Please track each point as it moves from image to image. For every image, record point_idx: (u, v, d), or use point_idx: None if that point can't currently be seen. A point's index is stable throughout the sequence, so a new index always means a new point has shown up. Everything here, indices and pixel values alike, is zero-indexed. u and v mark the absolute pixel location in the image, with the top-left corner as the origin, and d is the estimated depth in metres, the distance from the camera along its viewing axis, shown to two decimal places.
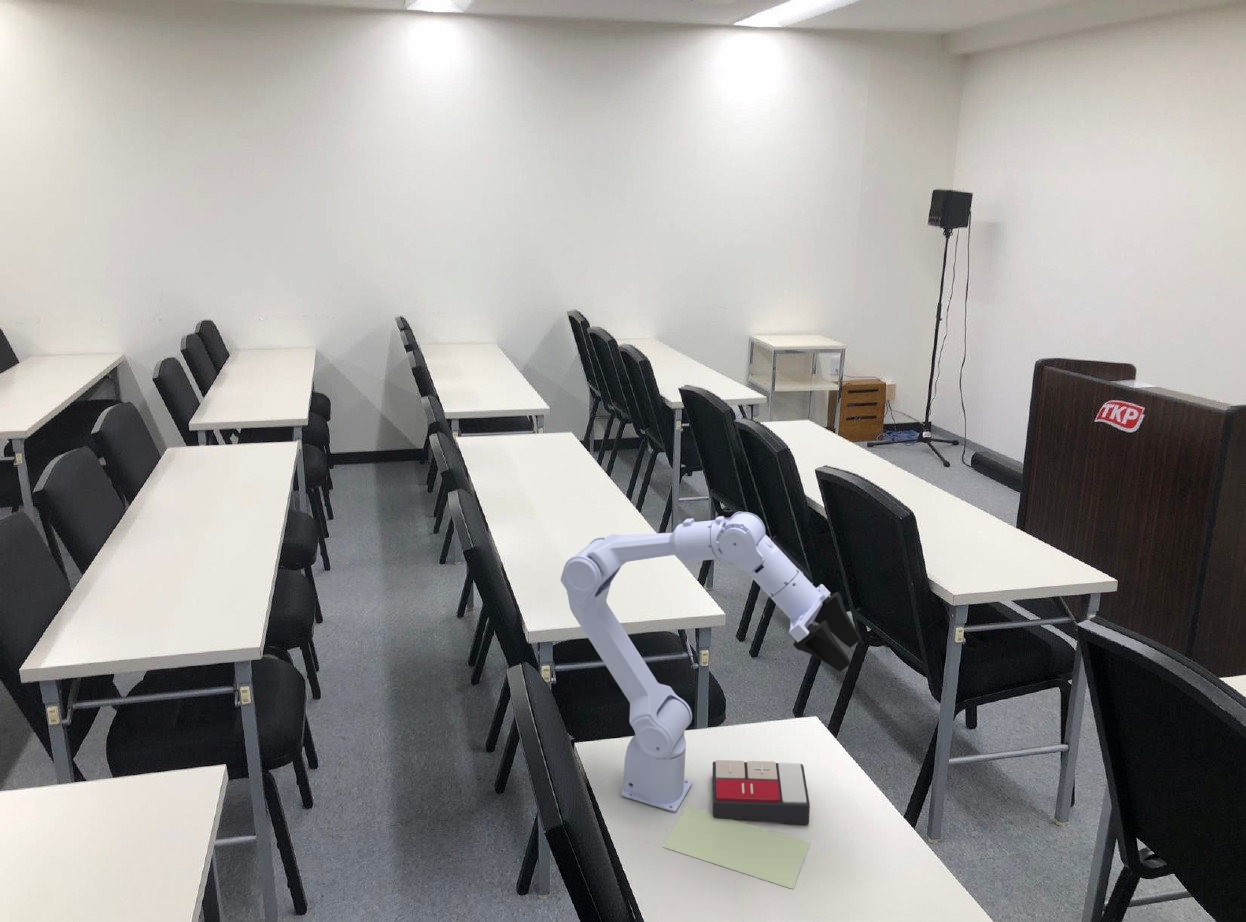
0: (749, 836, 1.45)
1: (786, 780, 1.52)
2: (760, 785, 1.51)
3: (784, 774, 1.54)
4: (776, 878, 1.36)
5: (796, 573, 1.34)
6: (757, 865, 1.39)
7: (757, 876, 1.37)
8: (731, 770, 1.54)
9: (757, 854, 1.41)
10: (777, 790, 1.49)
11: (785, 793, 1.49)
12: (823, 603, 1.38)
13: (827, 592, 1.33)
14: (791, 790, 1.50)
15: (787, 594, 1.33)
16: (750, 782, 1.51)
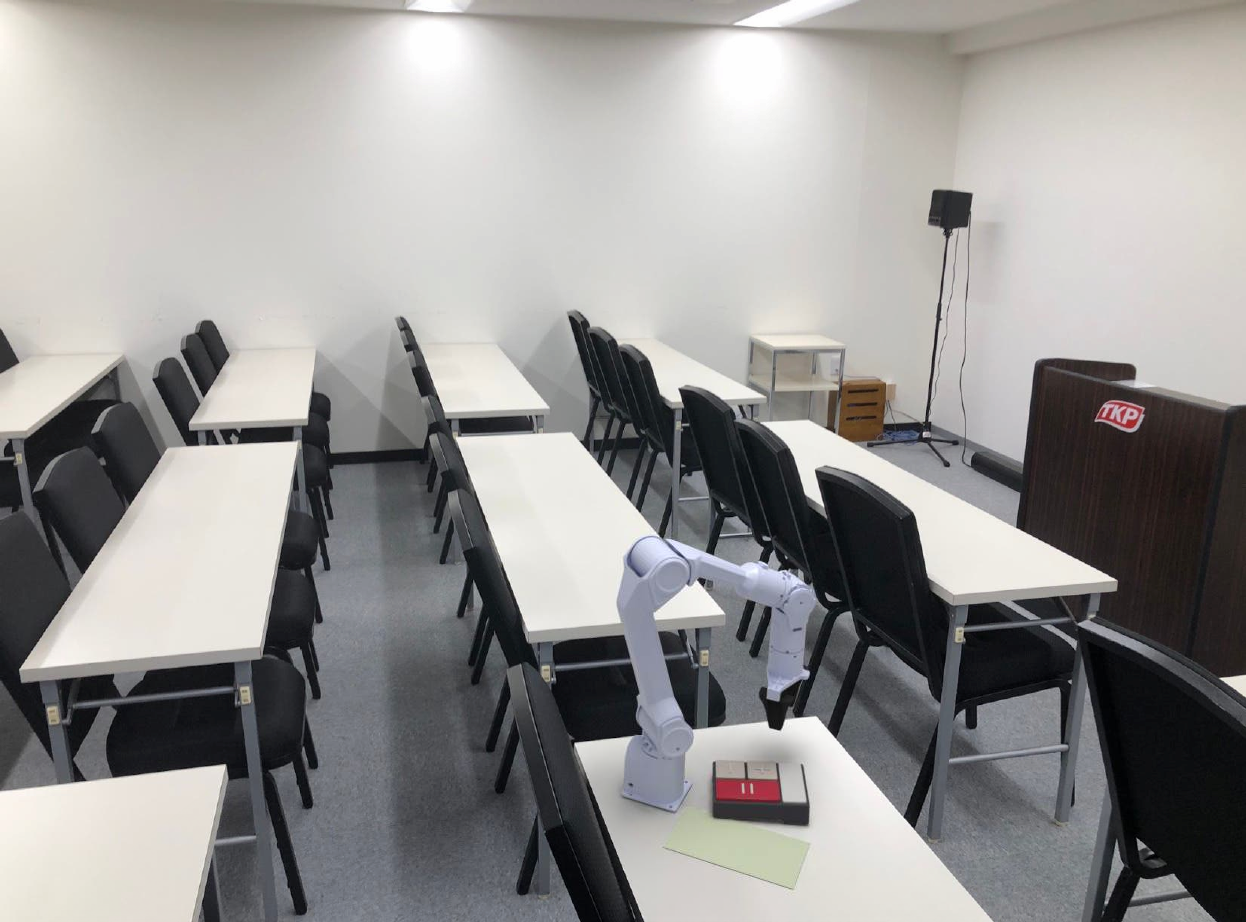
0: (749, 836, 1.45)
1: (786, 780, 1.52)
2: (760, 785, 1.51)
3: (784, 774, 1.54)
4: (776, 878, 1.36)
5: (802, 649, 1.54)
6: (757, 865, 1.39)
7: (757, 876, 1.37)
8: (731, 770, 1.54)
9: (757, 854, 1.41)
10: (777, 790, 1.49)
11: (785, 793, 1.49)
12: None
13: (808, 675, 1.55)
14: (791, 790, 1.50)
15: (785, 658, 1.53)
16: (750, 782, 1.51)
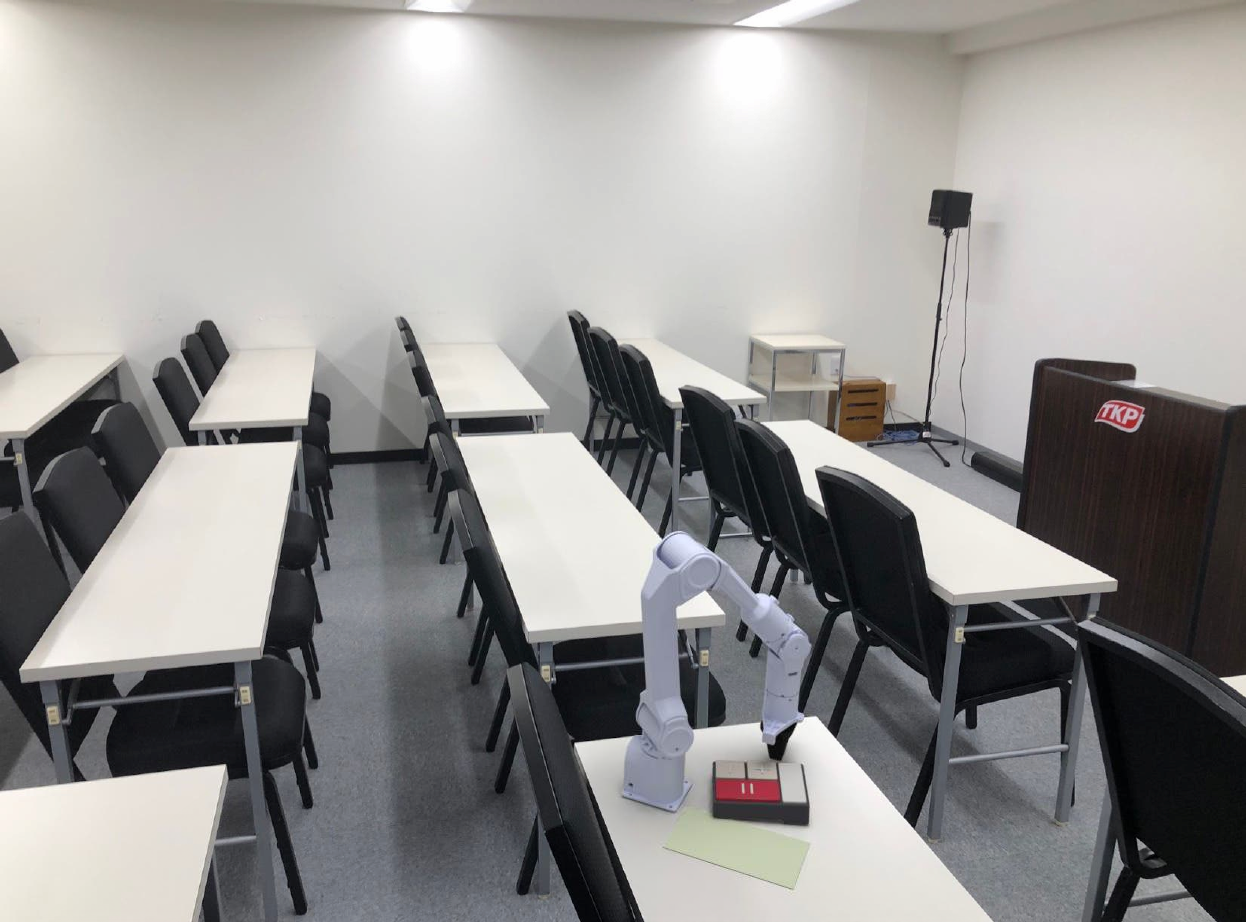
0: (749, 836, 1.45)
1: (786, 780, 1.52)
2: (760, 785, 1.51)
3: (784, 774, 1.54)
4: (776, 878, 1.36)
5: (797, 692, 1.56)
6: (757, 865, 1.39)
7: (757, 876, 1.37)
8: (731, 770, 1.54)
9: (757, 854, 1.41)
10: (777, 790, 1.49)
11: (785, 793, 1.49)
12: None
13: (803, 718, 1.58)
14: (791, 790, 1.50)
15: (780, 702, 1.55)
16: (750, 782, 1.51)
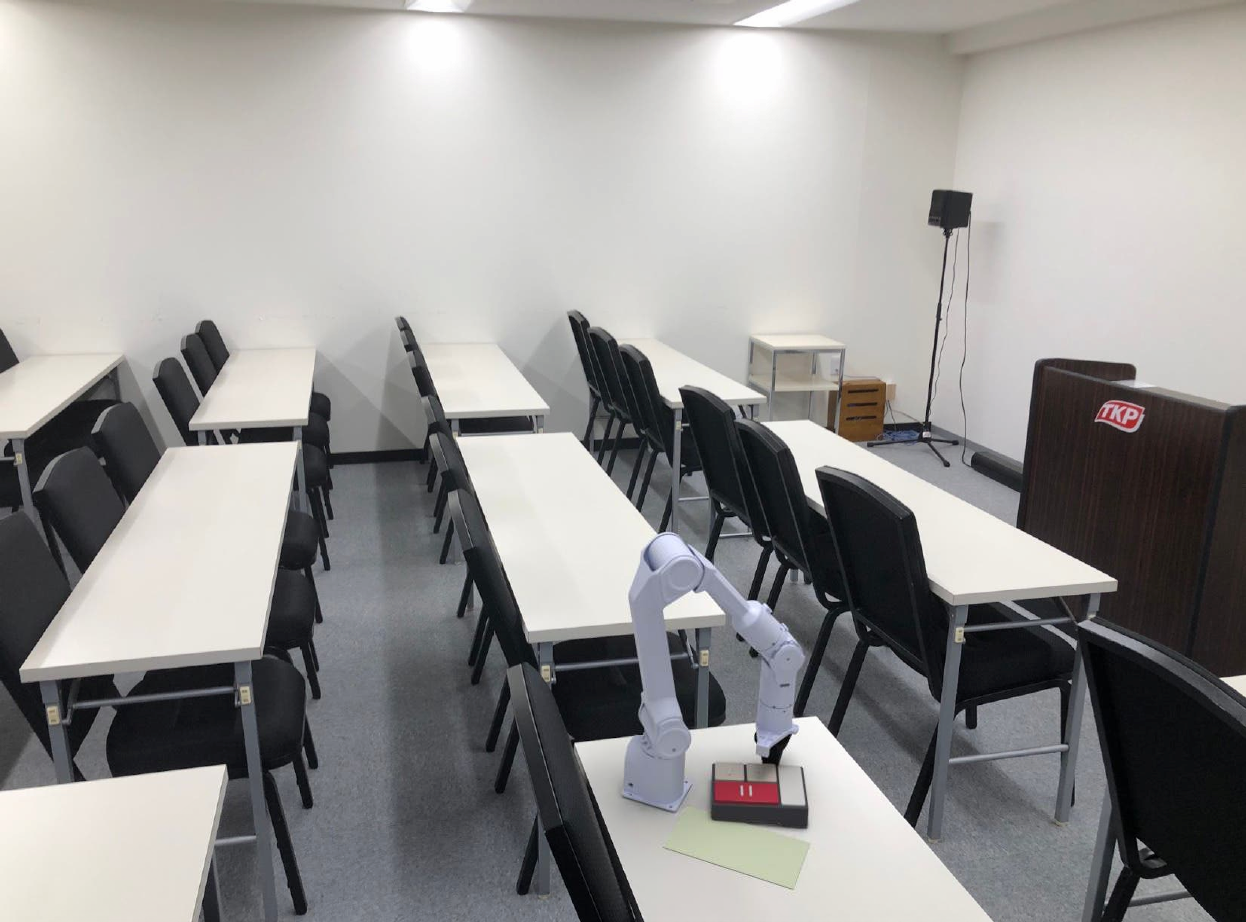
0: (749, 836, 1.45)
1: (785, 783, 1.51)
2: (759, 787, 1.50)
3: (783, 776, 1.53)
4: (776, 878, 1.36)
5: (792, 703, 1.53)
6: (757, 865, 1.39)
7: (757, 876, 1.37)
8: (730, 772, 1.54)
9: (757, 854, 1.41)
10: (776, 793, 1.49)
11: (784, 796, 1.48)
12: None
13: (798, 729, 1.54)
14: (790, 793, 1.49)
15: (774, 713, 1.52)
16: (749, 784, 1.51)
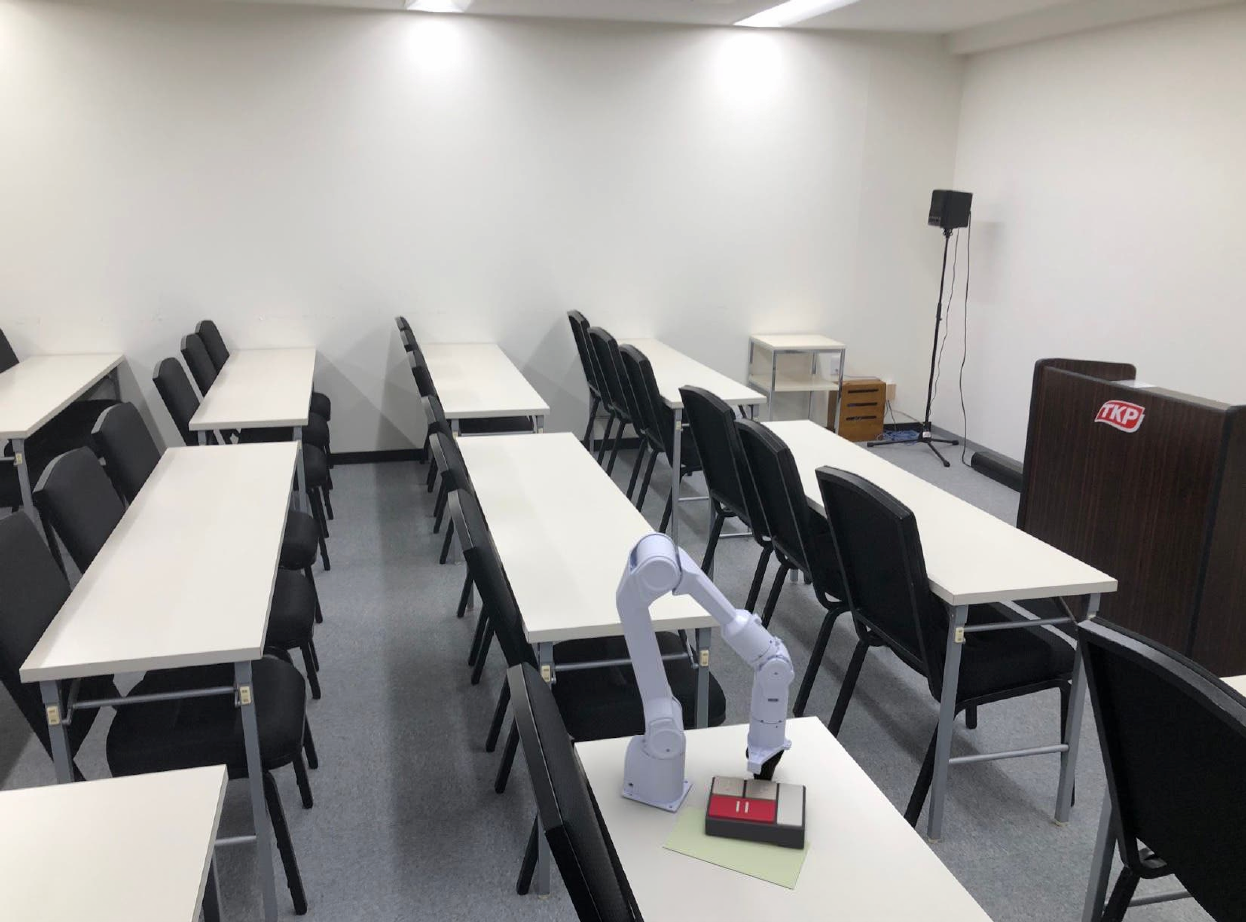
0: None
1: (784, 801, 1.47)
2: (757, 804, 1.46)
3: (784, 794, 1.49)
4: (776, 878, 1.36)
5: (784, 718, 1.49)
6: (757, 865, 1.39)
7: (757, 876, 1.37)
8: (729, 787, 1.50)
9: (757, 854, 1.41)
10: (773, 811, 1.44)
11: (781, 814, 1.44)
12: None
13: (790, 745, 1.50)
14: (788, 812, 1.44)
15: (766, 729, 1.48)
16: (746, 801, 1.47)
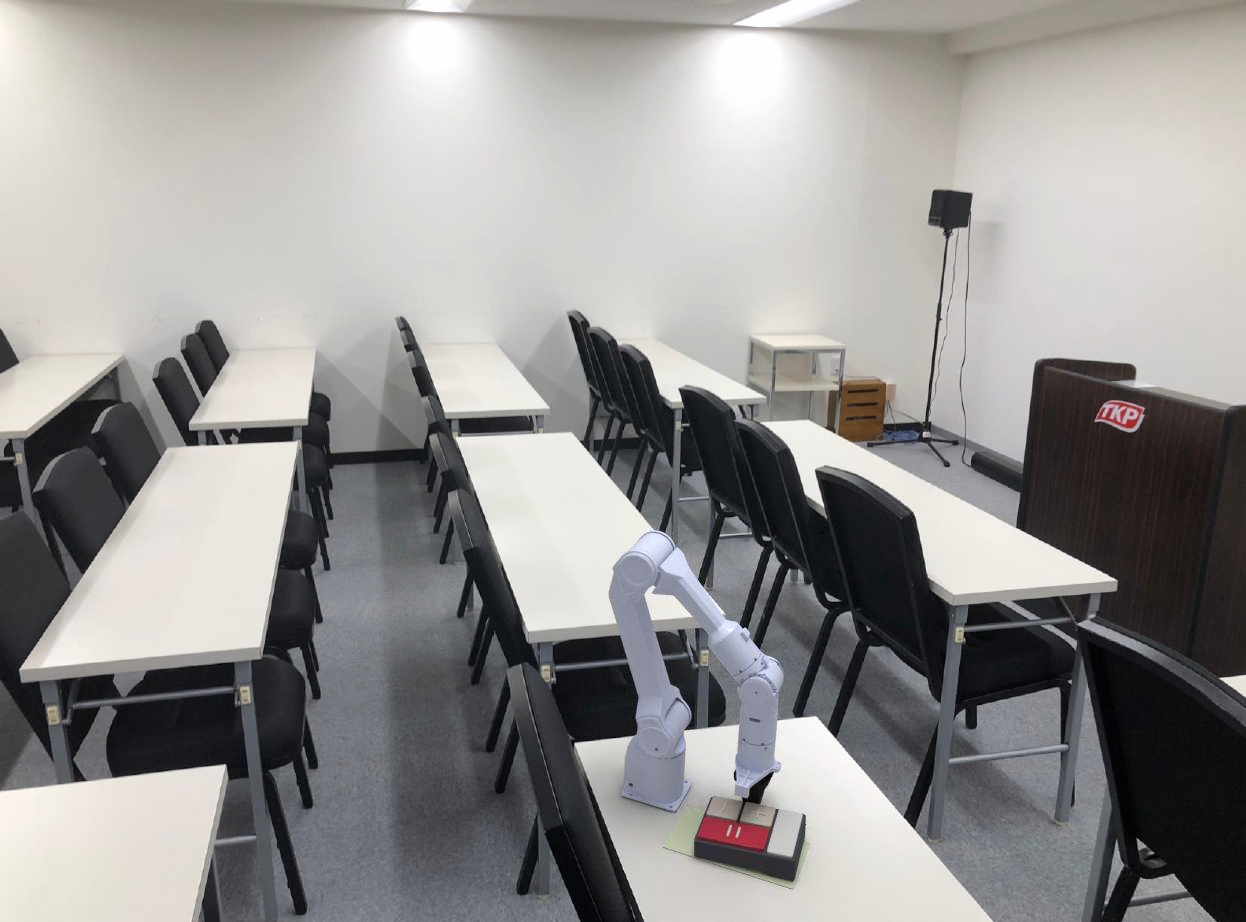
0: None
1: (779, 829, 1.41)
2: (749, 830, 1.40)
3: (780, 822, 1.42)
4: (776, 878, 1.36)
5: (773, 740, 1.43)
6: None
7: (757, 876, 1.37)
8: (725, 809, 1.45)
9: None
10: (765, 838, 1.39)
11: (773, 843, 1.38)
12: None
13: (780, 767, 1.45)
14: (780, 841, 1.38)
15: (755, 751, 1.43)
16: (739, 825, 1.41)
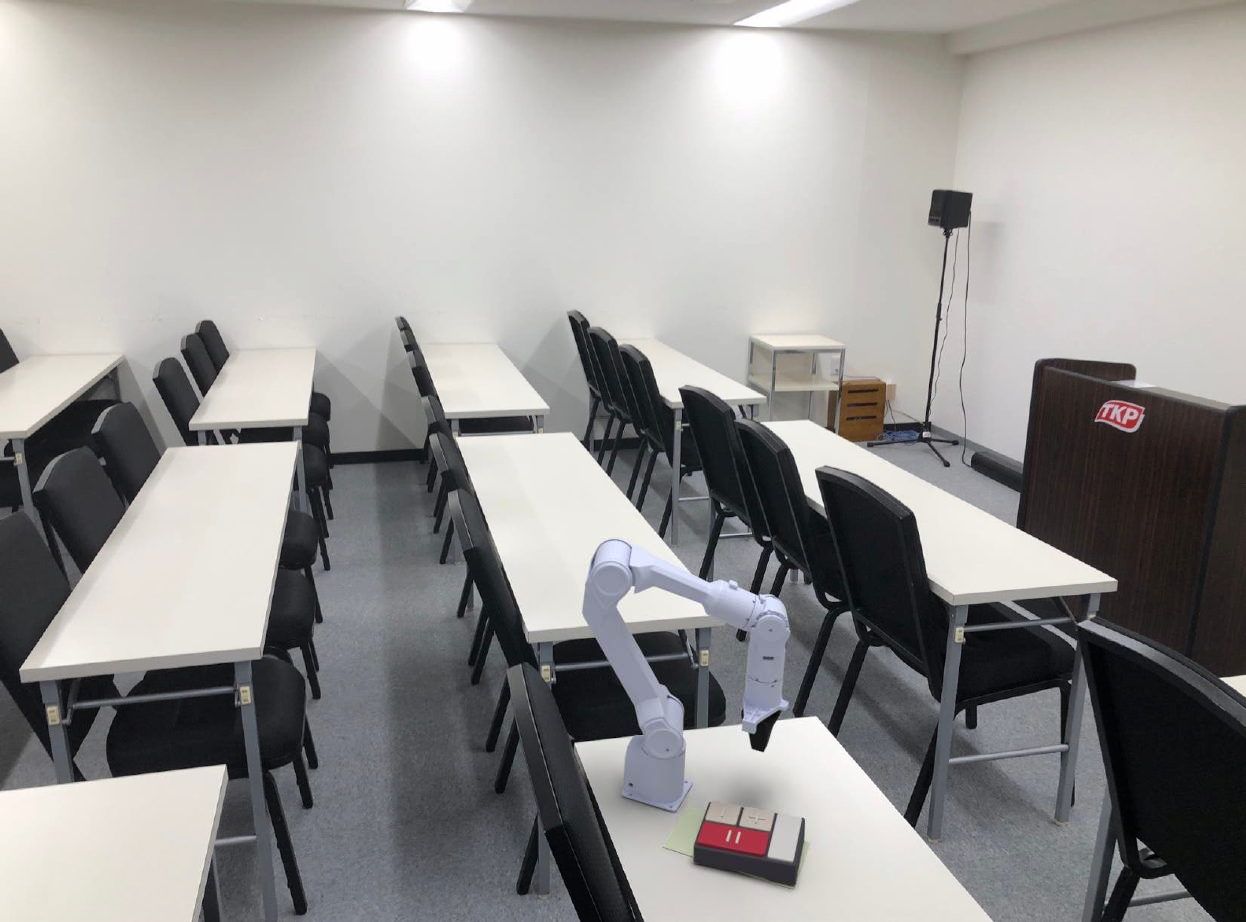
0: None
1: (779, 834, 1.40)
2: (749, 835, 1.39)
3: (780, 826, 1.41)
4: None
5: (781, 678, 1.45)
6: None
7: (757, 876, 1.37)
8: (723, 814, 1.44)
9: None
10: (765, 843, 1.38)
11: (773, 848, 1.37)
12: None
13: (787, 705, 1.47)
14: (781, 846, 1.37)
15: (762, 688, 1.44)
16: (739, 830, 1.40)
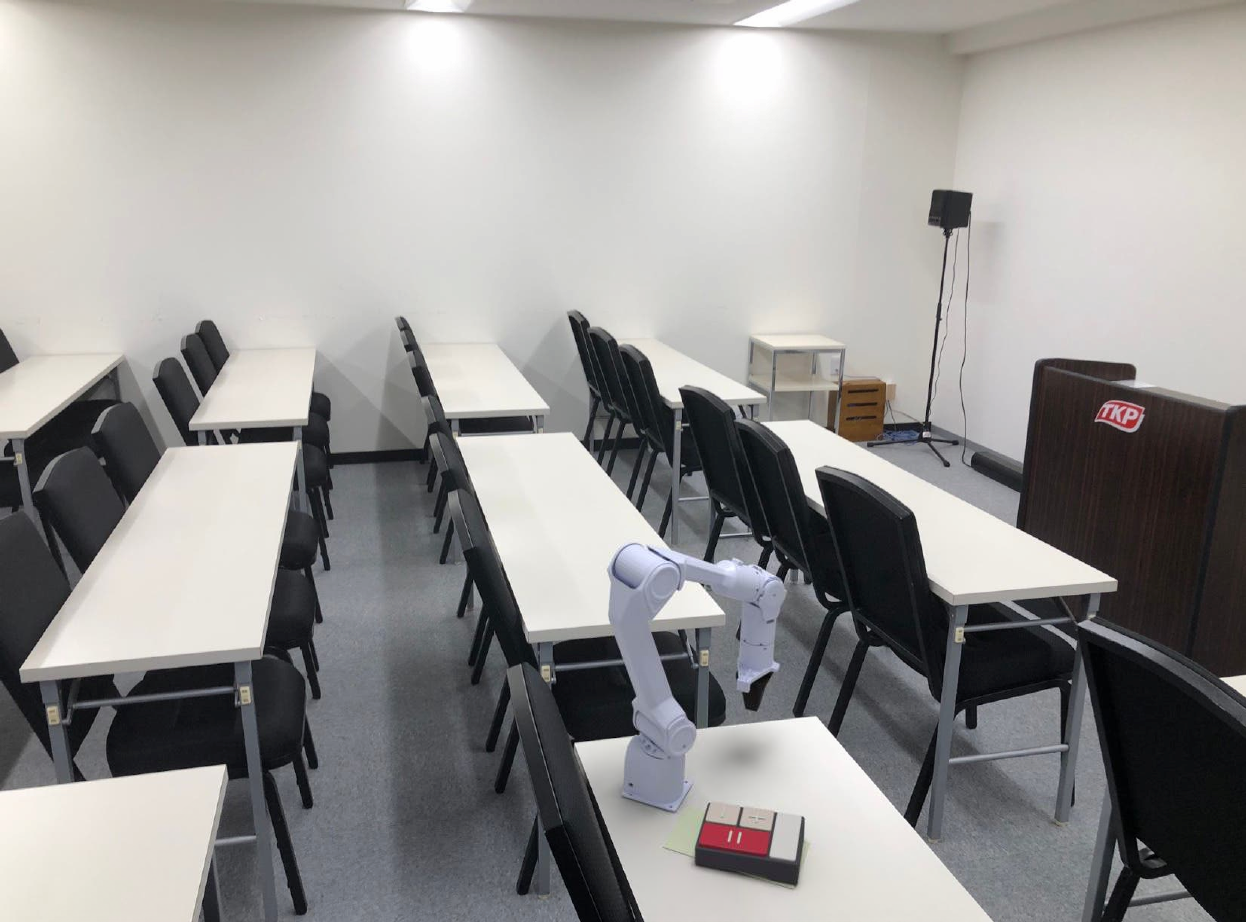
0: None
1: (780, 833, 1.40)
2: (750, 835, 1.39)
3: (780, 825, 1.42)
4: None
5: (772, 641, 1.56)
6: None
7: (757, 876, 1.37)
8: (723, 814, 1.44)
9: None
10: (766, 843, 1.38)
11: (775, 847, 1.37)
12: None
13: (778, 667, 1.58)
14: (782, 845, 1.37)
15: (755, 651, 1.55)
16: (740, 830, 1.40)
